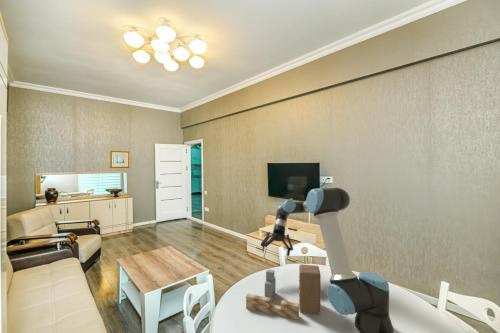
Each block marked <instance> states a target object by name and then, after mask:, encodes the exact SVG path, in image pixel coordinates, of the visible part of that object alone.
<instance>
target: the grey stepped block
mask: <svg viewBox="0 0 500 333" xmlns="http://www.w3.org/2000/svg"><path fill="white" fill-rule="evenodd" d="M276 281H277V280H276V276H275V270H274V269H268V268H267V269H266V271H265V281H264V297H268V298H271V302H273V300H274V296H275V295H276V292H277V291H276V287H277V286H276V283H277V282H276Z"/></svg>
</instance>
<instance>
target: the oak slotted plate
mask: <svg viewBox="0 0 500 333" xmlns="http://www.w3.org/2000/svg"><path fill="white" fill-rule="evenodd" d="M245 308H246V309H249V310H254V311H259V312H262V313H267V314H272V315H277V316H281V317H285V318H289V319H294V320H299V317H300V313H299V312H300V310H299V302H298V303H297V302H292V301H287V300H283V299H282V300H281V301H280V305H277V304H273V303H272V301H271V298H268V297H265V296H261V295H258V294H253V293H252V294H251V293H247V294H246V296H245Z"/></svg>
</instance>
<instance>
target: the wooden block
mask: <svg viewBox="0 0 500 333" xmlns="http://www.w3.org/2000/svg"><path fill="white" fill-rule="evenodd" d="M298 267H299V270H298V271H299V273H298V274H299V275H298V276H299V277H298V282H299V284H298V285H299V287H298V289H299V290H298V291H299V292H298V294H299V295H298V298H299V299H298V304H299V312H301V313H305V314H306V313H307V314H313V315H320V314H321V290H322V288H321V287H322V286H321V282H322V281H321V278H322V277H321V271H320V267H319V266H318V265H313V264H304V263H303V264H301V263H300V264H299V266H298Z"/></svg>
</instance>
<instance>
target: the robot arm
mask: <svg viewBox="0 0 500 333" xmlns="http://www.w3.org/2000/svg"><path fill="white" fill-rule="evenodd" d="M350 203H351V197H350V195H349V193H348V192H347V191H346V190H345V189H343V188H341V187H322V188H321V187H318V188H313V189H311V190H309V192H308V193H307V196H306V200H304V201H303V200H302V201H294V200H292V199H286V200H285V201H284V202H283V203H282V205H279V206H278V207H277V210H276V215H275V219H274V226H273V230H272V233H271V232H269V231H268V232H267V235H266V237H265V238H264V239H263V240H262V241H261V243H260V246H261V247H262V250H261V251H262V258H263V259H266V254H267V247H268V246H269V245H271V244H272V243H274V242H282V243H283V245H284V246H285V247H286V250H285V258H284V260H285V262H286V263H287V262H288V257H290V254H291V251H294V247H293V244H292V242H291V239H290V234H286V227H287V220H288V217H289V216H291V215H292V214H293V215H294V214H304V213H306V214H307V213H308V214H309V213H310V214H313V216H314V218H315V220H317V221H318V224H319V229H320V231H321V232H320V233H321V236H322V240H323V246H324V248H325V251H326V255H327V257H326V258H327V260H328V264H329V268H330V272H331V276H330V277H329V283H330V284H329V285H327V287H326V288H327V289H326V293H327V294H326V295H327V298H328V301H329V303H330V305H331V307H332V308H333V309H334V310H335V311H336V312H337V313H338V314H339V315H342V316H348V315H354V314H355V316H354V326H355V328H356V330H357V331H358V332H359V333H395V332H394V331H395V330H394V326H393V323H392V319H391V317H390V287H389V286H390V285H389V282H388V280H387V279H385V278H384V277H382V276H381V275H378V274H377V273H373V272H369V271H368V272H367V271H361V272H359V274H358V275H357V274H355V273H354V271H353V269H352V266H351V263H350V260H349V257H348V253H347V248H346V245H345V242H344V239H343V234H342V232H341V228H340V225H339V221H338V216H339V214H340V211H343V210H345V209H347V208H348V207H349V205H350ZM285 239H287V242H286V240H285Z"/></svg>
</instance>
